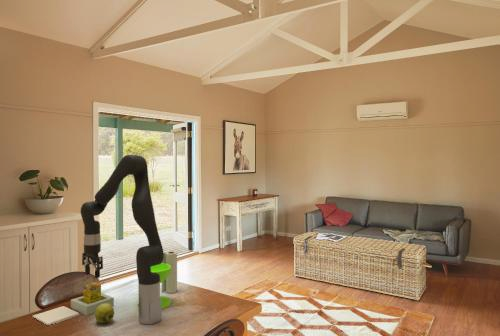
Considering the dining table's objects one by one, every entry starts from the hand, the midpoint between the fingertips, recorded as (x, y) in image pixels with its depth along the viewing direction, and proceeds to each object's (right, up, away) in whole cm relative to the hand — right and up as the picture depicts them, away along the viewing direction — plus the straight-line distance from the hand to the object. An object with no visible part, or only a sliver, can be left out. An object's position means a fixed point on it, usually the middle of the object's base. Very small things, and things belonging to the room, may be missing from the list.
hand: (92, 275), depth 182 cm
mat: (-12, -15, -11) cm, 22 cm away
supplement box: (0, -15, 0) cm, 15 cm away
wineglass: (+29, -15, +5) cm, 33 cm away
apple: (+12, -16, -16) cm, 26 cm away
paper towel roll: (+33, -15, +22) cm, 42 cm away
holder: (0, -15, 0) cm, 15 cm away
